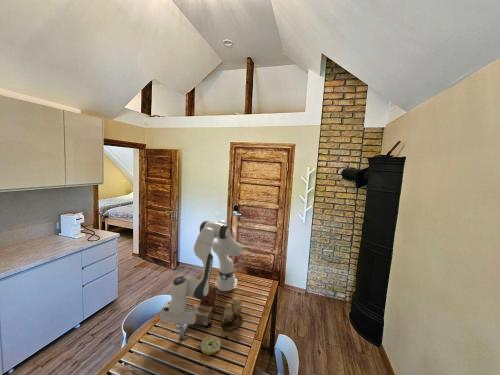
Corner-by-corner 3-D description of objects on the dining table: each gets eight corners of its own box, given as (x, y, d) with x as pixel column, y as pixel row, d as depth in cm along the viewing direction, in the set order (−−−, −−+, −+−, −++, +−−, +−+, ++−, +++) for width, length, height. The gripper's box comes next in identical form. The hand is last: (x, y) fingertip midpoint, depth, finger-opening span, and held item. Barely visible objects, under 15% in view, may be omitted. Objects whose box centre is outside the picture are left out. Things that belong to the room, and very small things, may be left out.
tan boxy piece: (194, 313, 150) (194, 303, 150) (212, 317, 148) (213, 307, 147) (184, 327, 137) (185, 316, 136) (204, 331, 134) (204, 320, 134)
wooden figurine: (205, 316, 147) (206, 291, 146) (198, 313, 151) (199, 287, 149) (217, 308, 157) (218, 283, 156) (210, 304, 161) (211, 280, 159)
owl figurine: (232, 311, 154) (234, 288, 153) (247, 318, 148) (248, 294, 147) (216, 327, 139) (217, 301, 137) (232, 335, 133) (233, 308, 131)
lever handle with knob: (186, 324, 140) (187, 313, 139) (191, 324, 139) (191, 314, 139) (178, 339, 127) (179, 327, 126) (183, 339, 127) (183, 328, 126)
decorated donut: (222, 353, 120) (222, 346, 119) (202, 359, 115) (203, 352, 115) (217, 339, 129) (217, 333, 129) (198, 344, 125) (199, 338, 124)
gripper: (198, 304, 130) (197, 326, 131) (164, 301, 131) (163, 323, 132) (194, 311, 124) (193, 334, 125) (159, 307, 125) (158, 331, 126)
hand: (178, 328), depth 128 cm, fingers closed
